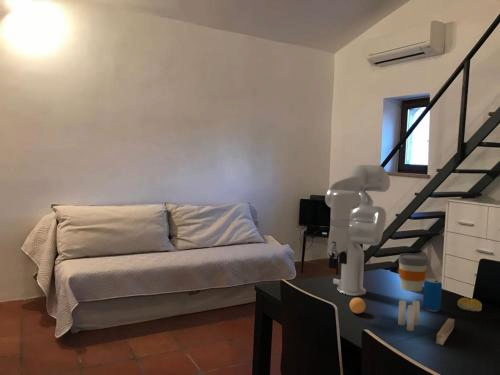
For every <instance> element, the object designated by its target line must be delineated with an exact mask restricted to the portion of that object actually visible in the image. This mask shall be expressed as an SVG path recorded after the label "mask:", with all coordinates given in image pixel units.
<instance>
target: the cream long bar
mask: <svg viewBox="0 0 500 375" xmlns="http://www.w3.org/2000/svg"><path fill="white" fill-rule="evenodd" d="M454 328H455V319H453V318H449V317H448V318H447V319H446V321H445V323H443V325H442V326H441V328H440V329H439V331H437V334H436V339H435V340H436V342H435V345H436V344H437V345H440V346H443V345H444V344H445V342H446V340H447V339H448V338H449V335H450V334H451V333H452V332H453V329H454Z"/></svg>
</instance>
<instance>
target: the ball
mask: <svg viewBox="0 0 500 375" xmlns="http://www.w3.org/2000/svg"><path fill="white" fill-rule="evenodd" d="M349 309H350V311H352V313H354V314H361V313H363V312H364V311H365V310H366V302H365V301H364V299H362V298H360V297H353V298H352V299H351V300H350V302H349Z"/></svg>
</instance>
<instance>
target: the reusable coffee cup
mask: <svg viewBox="0 0 500 375" xmlns="http://www.w3.org/2000/svg"><path fill="white" fill-rule="evenodd" d="M398 264H399V266H398V277H399V278H400V288H401V289H402V290H403V291H406V292H412V293H413V292H422V290H423V287H424V282H425V280H426V275H427V266H428V257H427V256H425V255H423V254H422V255H421V254H417V253H410V252H409V253H408V252H407V253H400V254H399V255H398Z"/></svg>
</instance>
